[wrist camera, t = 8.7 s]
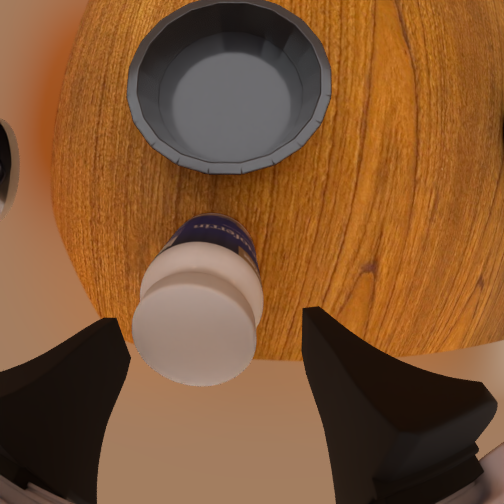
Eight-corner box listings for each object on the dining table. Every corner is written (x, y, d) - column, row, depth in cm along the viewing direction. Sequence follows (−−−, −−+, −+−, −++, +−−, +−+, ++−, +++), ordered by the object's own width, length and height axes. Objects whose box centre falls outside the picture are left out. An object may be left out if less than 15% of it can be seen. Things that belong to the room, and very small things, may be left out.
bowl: (209, 201, 18) (201, 216, 13) (125, 85, 15) (95, 69, 10) (338, 118, 16) (368, 108, 12) (251, 6, 13) (255, -28, 9)
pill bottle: (271, 240, 19) (304, 324, 9) (226, 303, 20) (221, 411, 11) (197, 194, 17) (153, 238, 8) (157, 264, 19) (101, 354, 9)
